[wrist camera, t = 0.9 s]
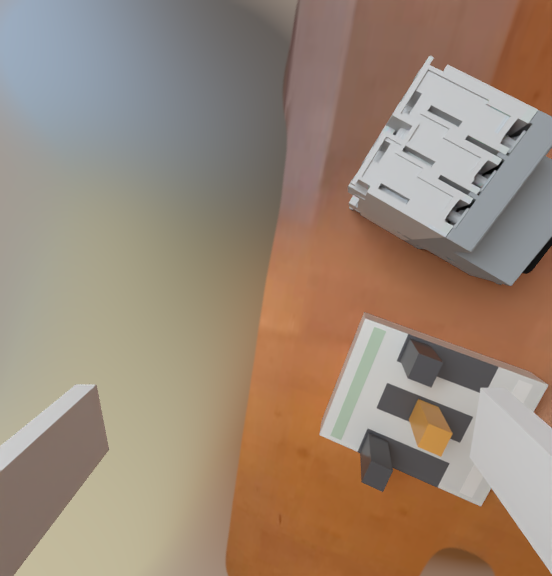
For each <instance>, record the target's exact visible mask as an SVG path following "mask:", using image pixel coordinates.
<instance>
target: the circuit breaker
mask: <svg viewBox="0 0 552 576" xmlns="http://www.w3.org/2000/svg"><path fill="white" fill-rule="evenodd" d="M432 60H433V57H431V56H429V57H428V59H427V60H426V62H425V64H424V65H423V67H422V68H421V70H420V71H419V72H418V73H417V75H416V77H415V79H414V80H413V83H412V85H411V86H410V88H409V89H408V91H407V92H406V94H405V95H404V97H403V98H402V100H401V101H400V103H399V104H398V106H397V108H396V109H395V111H394V113H393V114H392V116H391V117H390V119H389V121H388V122H387V124H386V126H385V127H384V129H383V130H382V132H381V134H380V135H379V137H378V139H377V140H376V142H375V143H374V145H373V147H372V148H371V150H370V152H369V153H368V155H367V156H366V158H365V160H364V161H363V163H362V166H361V168H360V169H359V171H358V172H357V174H356V175H355V177H354V178H353V179H352V181H351V182H350V184H349V186H348V192H349V193H350V194H352V195H353V197H352V199H351V200H350V202H349V209H351V210H353V209H354V210H356V211H357V212H359V213H360V215H361V216H363V217H365V218H366V219H368V220H370V221H372V222H373V223H375V224H377V225H378V226H380V227H382V228H383V229H385V230H387V231H388V232H390V233H392V234H394V235H395V236H397V237H399V238H400V239H402V240H404V241H405V242H407V243H409V244H411V245H412V246H414V247H416V248H417V249H426V250H428V251H430V252H431V253H433V254H435V255H437V256H438V257H440V258H442V259H443V260H445V261H447V262H448V263H450V264H452V265H454V266H455V267H457V268H459V269H460V270H462V271H464V272H465V273H467V274H469V275H471V276H475V277H479V278H482V279H486V280H490V281H493V282H495V283H496V284H500V285H501V284H505V285H509V286H512V284H513V283H514V282H515V281H516V279H517V278H518V277H519V276H520V275H521V273H525V274H527V273H529V272H531V271H532V270H533V269H534V268H535V266H536V265H537V264H538V262H539V261H540V260H541V258H542V257H543V256H544V254H545V253H546V252H547V251H548V249H549V248H550V247H551V246H552V159H550V158H548V157H546V154H547V153H548V152H549V150H550V149H551V148H552V117H551V116H549V115H547V114H545V113H543V112H541V111H539V110H537V109H535V108H533V107H531V106H529V105H527V104H525V103H523V102H521V101H519V100H517V99H515V98H513V97H511V96H509V95H507V94H505V93H503V92H501V91H499V90H497V89H495V88H493V87H491V86H489V85H487V84H485V83H483V82H481V81H479V80H477V79H475V78H473V77H471V76H469V75H467V74H465V73H463V72H461V71H459V70H457V69H455V68H453V67H451V66H449V65H447V66H446V68H445V69H444V71H443V72H442V71H441V70H439V69H437V68H435V67H433V66H431V65H430V63H431V62H432Z"/></svg>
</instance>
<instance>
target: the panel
mask: <svg viewBox="0 0 552 576" xmlns="http://www.w3.org/2000/svg"><path fill="white" fill-rule="evenodd" d="M409 338H411V339H413V340H416V341H419V342H422V343H424V344H427V345H430V346H431V347H432V349H433V350H434V351H435V352H436V354H437V355H438V356H439V358H440V359H441V360H442V362H443V364H442V366H441V368H440V371H439V373H438V375H437V377H436V379H435V381H434V383H433V386H432V388H431V387H428V386H426V385H423V384H421V383H418V382H416V381H413V380H410V379H408V378H407V376H406V373H405V371H404V368H403V366H402V363H401V361H400V359H401V356H402V354H403V352H404V349H405V347H406V345H407V343H408V340H409ZM547 387H548V384H547V383H545V382H544V381H542V380H541V379H540V378H538V377H537V376H535V375H534V374H533V373H531V372H529V371H527V370H524V369H521V368H518V367H516V366H513V365H510V364H507V363H504V362H502V361H499V360H496V359H493V358H490V357H488V356H485V355H482V354H479V353H477V352H474V351H471V350H468V349H465V348H463V347H460V346H457V345H454V344H452V343H449V342H446V341H443V340H440V339H438V338H435V337H432V336H429V335H427V334H424V333H421V332H418V331H415V330H413V329H410V328H407V327H404V326H402V325H399V324H396V323H393V322H390V321H388V320H385V319H382V318H379V317H377V316H374V315H371V314H368V313H365V312H364V314H363V316H362V319H361V321H360V324H359V326H358V329H357V332H356V334H355V337H354V339H353V342H352V344H351V347H350V349H349V352H348V355H347V357H346V360H345V362H344V365H343V367H342V370H341V372H340V375H339V377H338V380H337V383H336V385H335V388H334V390H333V393H332V395H331V398H330V400H329V403H328V406H327V408H326V411H325V413H324V416H323V418H322V422H321V428H320V434H319V435H321V436H323V437H325V438H327V439H330V440H332V441H334V442H337V443H339V444H341V445H343V446H346V447H348V448H350V449H352V450H355V451H357V452H359V453H360V451H361V449H362V447H363V444H364V442H365V440H366V437H367V435H368V433H371V434H373V435H375V436H378V437H380V438H382V439H385V440H387V441H388V447H389V452H390V458H391V463H392V468H395V469H397V470H399V471H401V472H404V473H406V474H408V475H410V476H413V477H415V478H417V479H419V480H422V481H424V482H426V483H428V484H431V485H433V486H435V487H438V488H440V489H443V490H445V491H447V492H449V493H452V494H454V495H456V496H458V497H461V498H463V499H465V500H467V501H470V502H472V503H474V504H476V505H479V506H482V504H483V502H484V500H485V499H486V497H487V495H488V493H489V491H490V490H491V487H490V485H489V484H488V483H487V481H486V480H485V478H484V477H483V475H482V474H481V473H480V471H479V470H478V468H477V467H476V465H475V464H474V463H473V461H472V460H471V458H470V451H471V445H472V439H473V432H474V426H475V420H476V413H477V407H478V401H479V395H480V388H506V389H507V390H508V391H509V392H510V393H512V394H513V395H514V396H515V397H516V398H517V399H518V400H520V401H521V402H522V403H523V404H524V405H525V406H527V407H528V408H529V409H530V410H531V411H532V412H534V410H535V408H536V407H537V405H538V403H539V401H540V399H541V398H542V396H543V394H544V392H545V390H546V389H547ZM418 399H420V400H422V401H425V402H427V403H430V404H432V405H435V406H437V407H439V409H440V411H441V412H442V414H443V416H444V418H445V420H446V422H447V424H448V426H449V427H450V429H451V431H452V433H453V434H452V436H451V438H450V440H449V442H448V444H447V446H446V448H445V450H444V452H443V454H442V456H441V457H440V456H438V455H436V454H433V453H431V452H429V451H426V450H424V449H422V448H419V447H418V446H417V443H416V440H415V437H414V434H413V431H412V428H411V425H410V422H409V418H410V416H411V413H412V411H413V409H414V407H415V405H416V403H417V400H418Z"/></svg>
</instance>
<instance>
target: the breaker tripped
mask: <svg viewBox="0 0 552 576" xmlns="http://www.w3.org/2000/svg"><path fill="white" fill-rule="evenodd" d="M409 422H410V425H411V428H412V431H413V434H414V437H415V440H416V443H417V446H418V447H419V448H422V449H424V450H426V451H429V452H431V453H433V454H436V455H438V456H440V457H441V456H442V454H443V452H444V450H445V448H446V446H447V444H448V442H449V440H450V438H451V436H452V434H453V433H452V431H451V429H450V427H449V426H448V424H447V422H446V420H445V418H444V416H443V414H442V412H441V411H440V409H439V407H437V406H435V405H432V404H430V403H427V402H425V401H422V400H420V399H418V400H417V403H416V405H415V407H414V409H413V411H412V413H411V416H410V418H409Z"/></svg>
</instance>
